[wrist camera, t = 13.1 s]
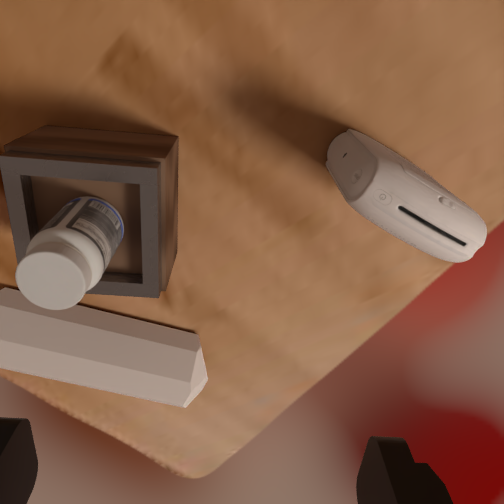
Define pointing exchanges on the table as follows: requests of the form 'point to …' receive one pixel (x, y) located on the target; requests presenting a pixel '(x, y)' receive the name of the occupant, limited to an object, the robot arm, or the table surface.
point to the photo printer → (403, 198)
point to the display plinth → (100, 196)
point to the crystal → (100, 351)
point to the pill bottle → (70, 253)
